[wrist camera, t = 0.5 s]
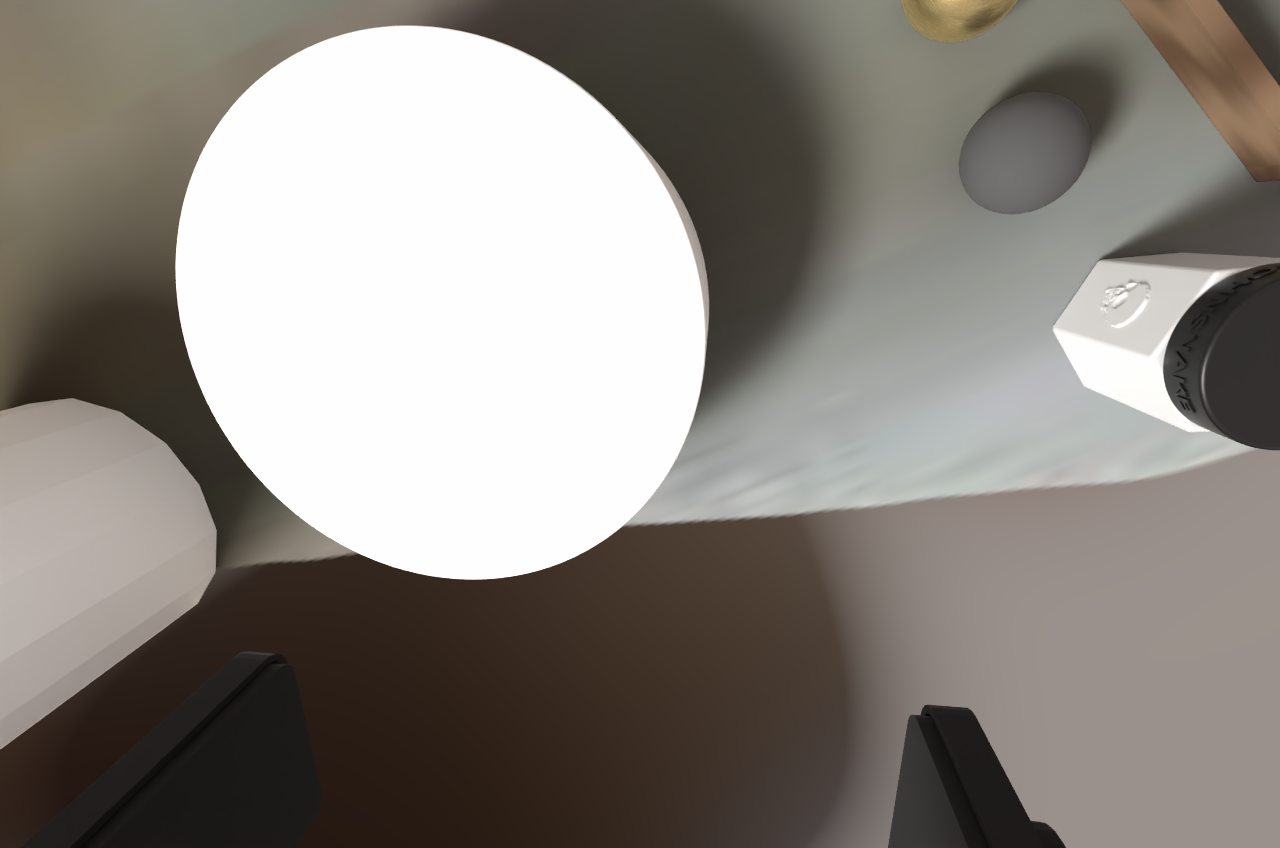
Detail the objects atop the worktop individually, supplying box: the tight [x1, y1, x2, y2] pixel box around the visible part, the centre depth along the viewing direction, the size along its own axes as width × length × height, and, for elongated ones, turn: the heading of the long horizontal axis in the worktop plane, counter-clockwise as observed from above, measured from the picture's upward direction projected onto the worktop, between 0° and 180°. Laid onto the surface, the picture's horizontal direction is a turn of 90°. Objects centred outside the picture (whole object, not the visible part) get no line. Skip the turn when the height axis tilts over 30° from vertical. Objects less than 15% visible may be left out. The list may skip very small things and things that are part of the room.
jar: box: [1053, 252, 1280, 450], centre depth 32 cm, size 9×8×12 cm
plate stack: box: [176, 26, 709, 579], centre depth 37 cm, size 28×28×12 cm
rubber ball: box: [959, 92, 1091, 214], centre depth 33 cm, size 6×6×6 cm
